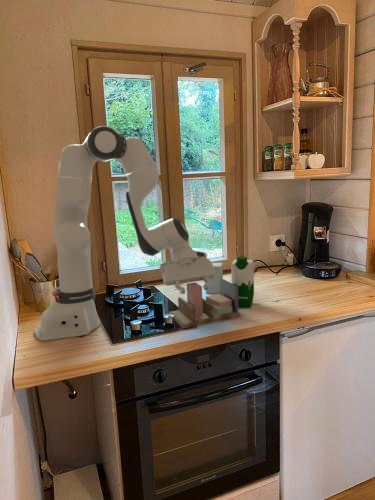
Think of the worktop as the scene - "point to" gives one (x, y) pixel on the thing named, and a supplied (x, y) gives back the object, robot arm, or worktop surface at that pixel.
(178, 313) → the walnut book rack
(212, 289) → the supplement box
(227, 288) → the dark metal bookend
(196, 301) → the rose book
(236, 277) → the milk carton
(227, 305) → the toppled books
